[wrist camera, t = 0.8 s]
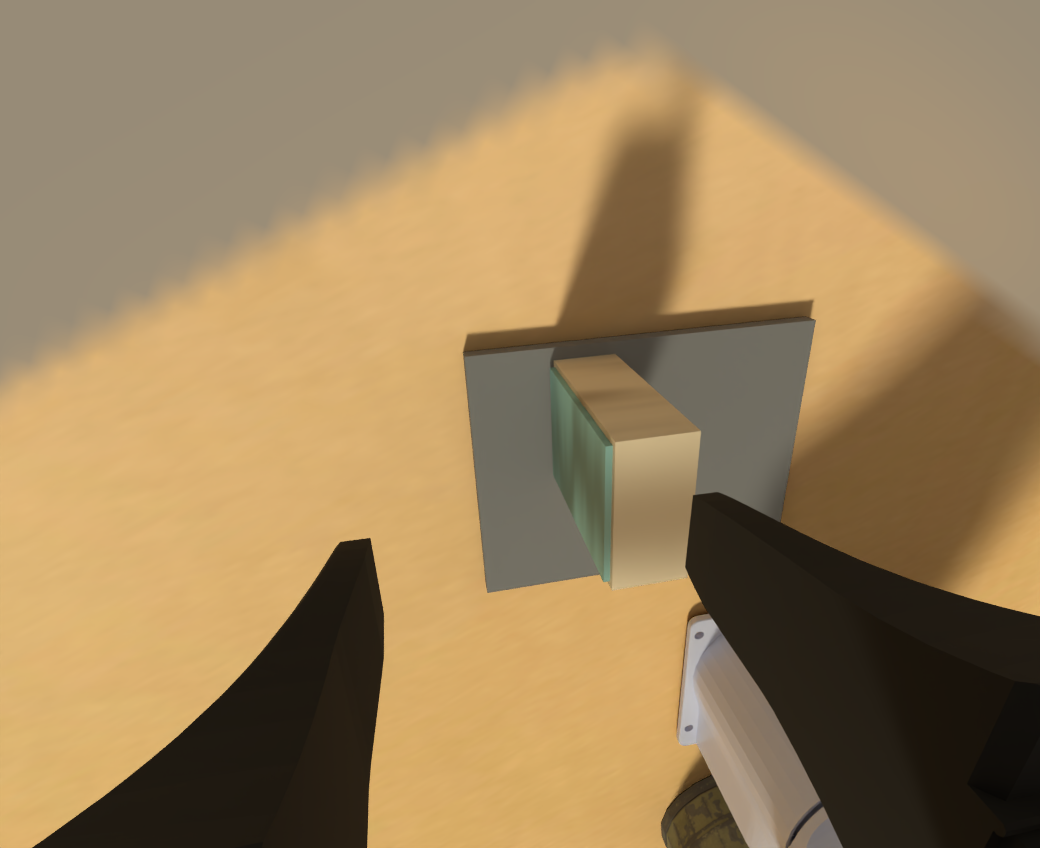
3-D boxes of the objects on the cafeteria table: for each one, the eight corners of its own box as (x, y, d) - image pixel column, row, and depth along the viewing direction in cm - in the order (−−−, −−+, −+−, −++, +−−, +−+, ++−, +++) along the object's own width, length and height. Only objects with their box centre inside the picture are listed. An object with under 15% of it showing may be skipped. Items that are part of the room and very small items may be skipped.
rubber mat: (769, 537, 27) (776, 545, 27) (485, 583, 25) (487, 592, 25) (806, 316, 23) (815, 320, 22) (462, 351, 21) (464, 356, 20)
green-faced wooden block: (612, 468, 23) (687, 578, 17) (552, 476, 23) (605, 591, 17) (615, 353, 21) (700, 431, 15) (548, 361, 21) (608, 443, 15)
